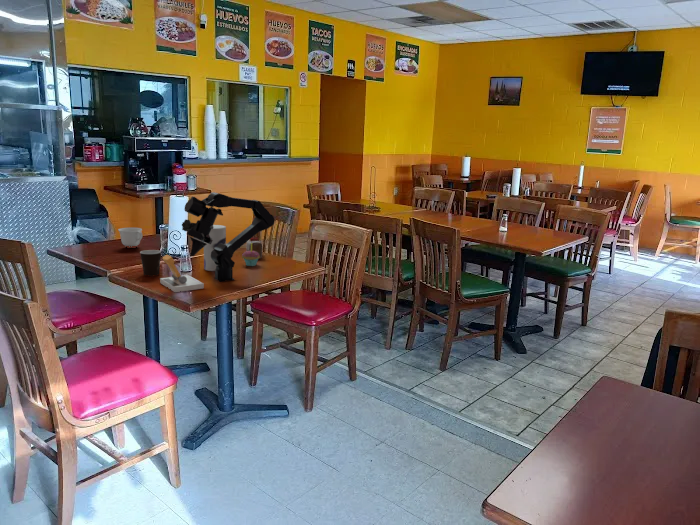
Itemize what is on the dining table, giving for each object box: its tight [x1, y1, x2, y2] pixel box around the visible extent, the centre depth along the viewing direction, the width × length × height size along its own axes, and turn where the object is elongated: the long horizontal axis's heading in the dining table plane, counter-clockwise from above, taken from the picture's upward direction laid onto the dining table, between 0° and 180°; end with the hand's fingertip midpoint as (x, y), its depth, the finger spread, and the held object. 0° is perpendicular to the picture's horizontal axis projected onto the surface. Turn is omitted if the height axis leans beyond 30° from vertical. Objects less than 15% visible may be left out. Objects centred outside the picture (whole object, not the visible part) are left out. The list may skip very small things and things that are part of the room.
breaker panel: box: [159, 273, 205, 293], centre depth 228 cm, size 12×16×5 cm
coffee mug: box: [139, 249, 162, 277], centre depth 245 cm, size 12×9×10 cm
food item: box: [245, 236, 263, 259], centre depth 288 cm, size 14×8×10 cm, turn 20°
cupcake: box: [241, 242, 261, 267], centre depth 267 cm, size 9×8×12 cm
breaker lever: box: [161, 254, 182, 280], centre depth 225 cm, size 2×5×11 cm, turn 38°
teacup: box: [117, 227, 144, 247], centre depth 293 cm, size 12×15×10 cm
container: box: [203, 224, 227, 272], centre depth 256 cm, size 10×10×20 cm
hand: (191, 255), depth 229 cm, fingers closed
